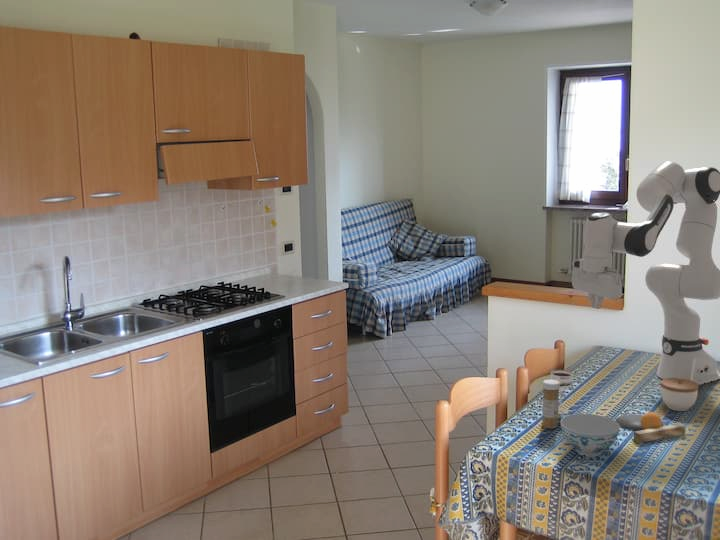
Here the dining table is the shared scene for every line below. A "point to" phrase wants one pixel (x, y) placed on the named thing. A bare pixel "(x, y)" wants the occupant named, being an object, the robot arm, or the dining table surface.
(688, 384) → the lidded jar
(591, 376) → the dining table surface
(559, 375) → the wineglass
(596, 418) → the chinaware
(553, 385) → the sprinkles bottle
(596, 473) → the dining table surface
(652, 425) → the ball
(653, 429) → the stopper strip
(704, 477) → the dining table surface
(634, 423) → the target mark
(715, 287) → the robot arm
